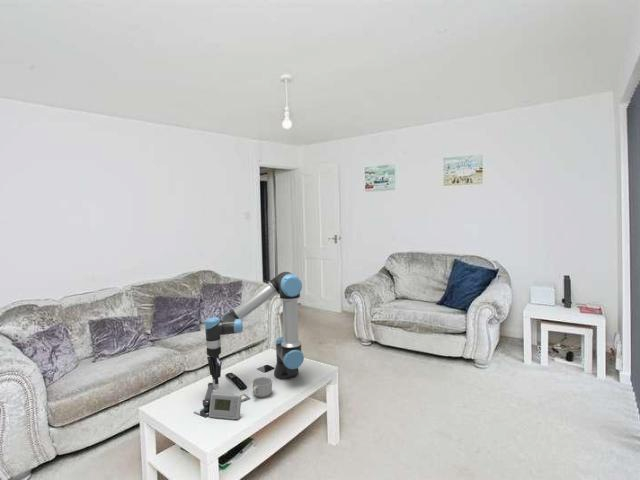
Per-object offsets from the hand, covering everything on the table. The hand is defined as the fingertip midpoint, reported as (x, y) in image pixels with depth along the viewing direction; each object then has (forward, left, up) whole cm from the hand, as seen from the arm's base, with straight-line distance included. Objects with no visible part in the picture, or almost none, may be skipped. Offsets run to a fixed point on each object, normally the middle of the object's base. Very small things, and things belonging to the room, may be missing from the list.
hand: (215, 388), depth 198 cm
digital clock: (+5, +21, -5) cm, 22 cm away
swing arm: (+6, +4, -1) cm, 7 cm away
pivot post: (+10, +12, -5) cm, 16 cm away
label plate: (-9, +12, -5) cm, 15 cm away
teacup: (-19, +16, -5) cm, 25 cm away
